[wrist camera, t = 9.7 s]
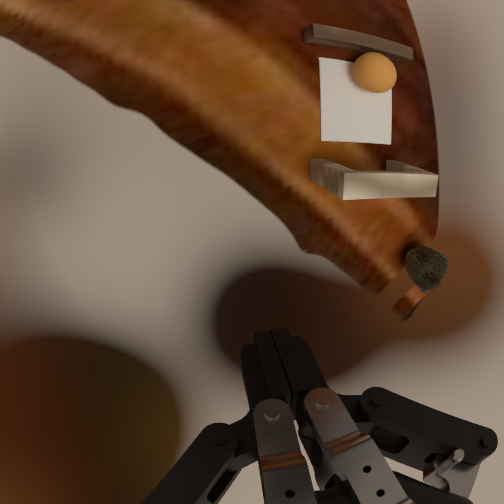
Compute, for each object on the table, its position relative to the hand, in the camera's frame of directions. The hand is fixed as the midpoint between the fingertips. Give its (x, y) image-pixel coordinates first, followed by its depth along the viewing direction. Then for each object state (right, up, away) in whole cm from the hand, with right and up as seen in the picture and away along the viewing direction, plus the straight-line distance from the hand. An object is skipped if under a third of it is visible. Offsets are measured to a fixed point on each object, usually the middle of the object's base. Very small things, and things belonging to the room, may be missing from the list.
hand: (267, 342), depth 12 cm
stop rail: (+14, +33, +17) cm, 40 cm away
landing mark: (+14, +25, +21) cm, 36 cm away
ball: (+16, +28, +16) cm, 36 cm away
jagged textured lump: (+29, +4, +35) cm, 46 cm away
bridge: (+15, +16, +26) cm, 34 cm away
